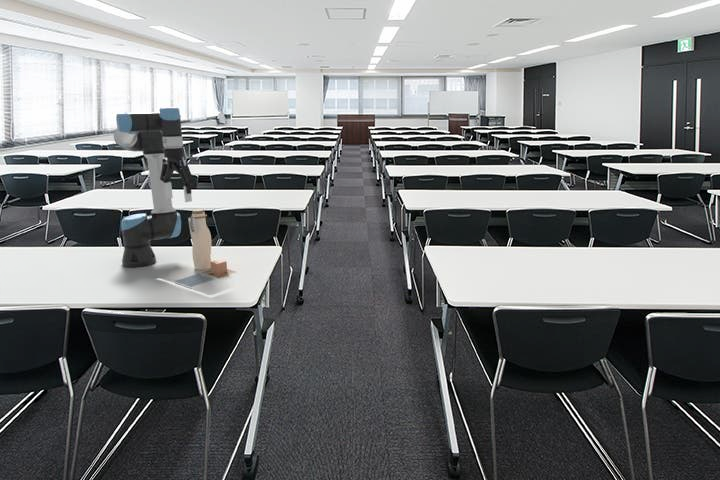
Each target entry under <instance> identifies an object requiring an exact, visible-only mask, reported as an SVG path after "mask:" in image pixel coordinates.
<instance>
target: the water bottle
mask: <svg viewBox="0 0 720 480" xmlns="http://www.w3.org/2000/svg"><path fill="white" fill-rule="evenodd" d="M191 211H192V213H191V216H190V217H187V218H188V219H187V220H188V226H189V234H190V237H191V242H192V246H191V247H192V249H191V251H192V260H193V267H194V269H196V270H199V271H200V270H209V269H211V265H210V262H212V258H211V254H212V235H211V231H210V229H209V228H208V226H207V220H206V218H207V217H208V215H207V213H206V214H205V210H204V209H203V208H197V209H196V208H195V209H193V210H191Z"/></svg>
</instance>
